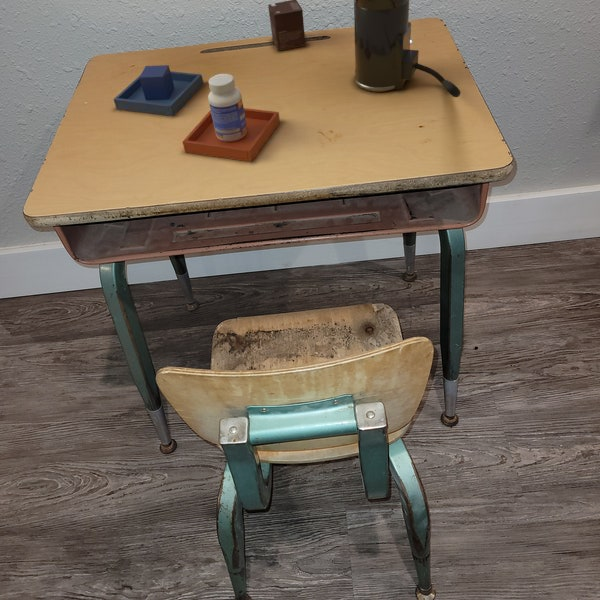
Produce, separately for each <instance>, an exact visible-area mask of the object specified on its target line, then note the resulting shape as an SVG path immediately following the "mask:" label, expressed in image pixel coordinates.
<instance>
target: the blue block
mask: <svg viewBox="0 0 600 600" xmlns="http://www.w3.org/2000/svg"><path fill="white" fill-rule="evenodd" d="M170 71H171V69H170V65H169V64H165V65H164V64H163V65H162V64H161V65H145V66H144V68H143V70H142V71H141V73H140V74H139V76H140V77H139V76H138V77H139V79H140V82H141V86H142V89H143V92H144V96H145V99H146V100H167V99H169V98H170V96H171V94H172V92H173V90H174V84H173V80H172V76H171V72H170Z"/></svg>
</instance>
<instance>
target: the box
mask: <svg viewBox="0 0 600 600" xmlns="http://www.w3.org/2000/svg"><path fill="white" fill-rule="evenodd" d="M267 7H268V14H269V23H270V30H271V39H272V42H273V43H274V46H275V47H276V49H277V51H284V50H289V49H295V48H300V47H304V46H306V34H305V25H304V24H305V23H304V12H303V11H304V9H303V8H302V6H301V5H300V4H299V2H298V0H285V1H280V2H275V3H270V4H268V5H267Z"/></svg>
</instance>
